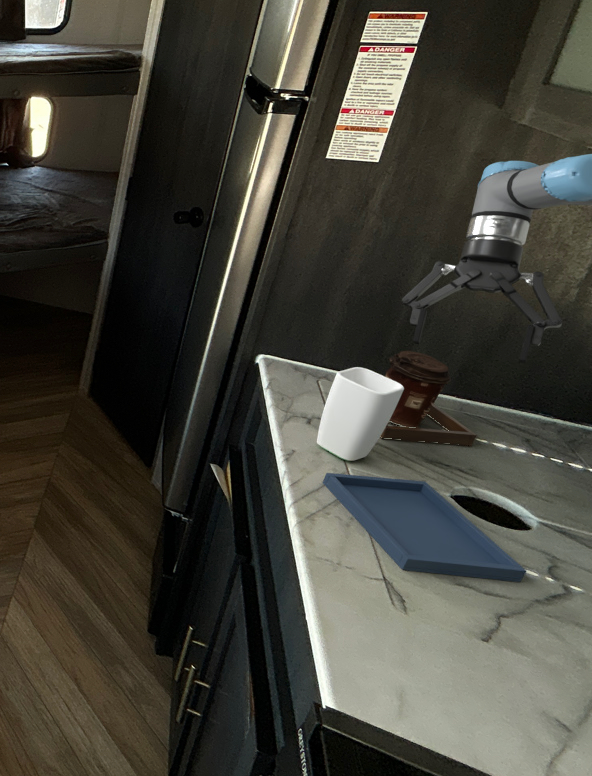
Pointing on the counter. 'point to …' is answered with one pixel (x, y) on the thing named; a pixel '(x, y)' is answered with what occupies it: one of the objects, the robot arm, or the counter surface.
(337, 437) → the cup
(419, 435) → the brown picture frame
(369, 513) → the tray
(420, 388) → the coffee cup
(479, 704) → the counter surface
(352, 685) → the counter surface
